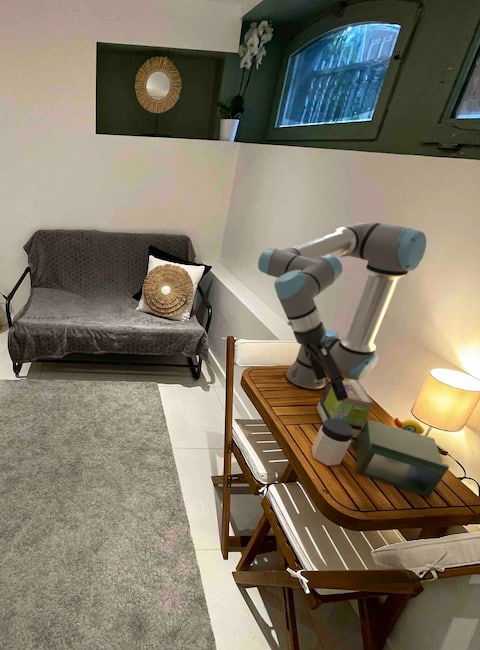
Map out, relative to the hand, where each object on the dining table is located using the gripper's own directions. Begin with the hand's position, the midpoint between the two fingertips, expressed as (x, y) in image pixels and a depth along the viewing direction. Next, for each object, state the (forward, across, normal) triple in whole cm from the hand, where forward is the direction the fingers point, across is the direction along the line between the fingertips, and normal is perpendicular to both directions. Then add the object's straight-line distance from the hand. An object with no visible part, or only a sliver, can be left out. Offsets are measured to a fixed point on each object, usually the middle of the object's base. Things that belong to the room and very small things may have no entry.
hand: (331, 388), depth 109 cm
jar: (+22, 0, -9) cm, 24 cm away
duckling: (+38, -10, +16) cm, 43 cm away
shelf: (+33, +2, +6) cm, 34 cm away
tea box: (+27, -19, +1) cm, 33 cm away
